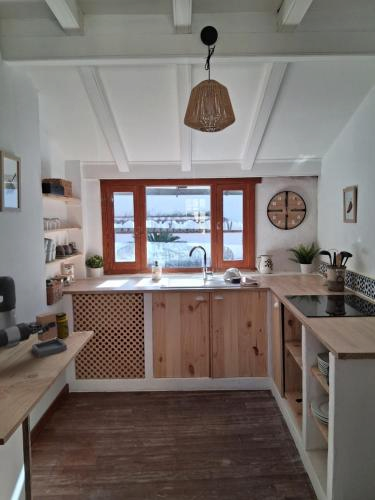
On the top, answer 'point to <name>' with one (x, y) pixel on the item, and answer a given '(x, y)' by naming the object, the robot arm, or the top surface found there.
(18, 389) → the top surface
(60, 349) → the tray
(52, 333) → the brick
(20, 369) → the top surface
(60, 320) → the condiment
